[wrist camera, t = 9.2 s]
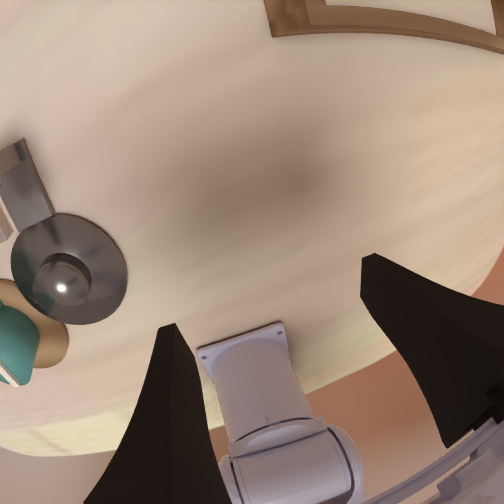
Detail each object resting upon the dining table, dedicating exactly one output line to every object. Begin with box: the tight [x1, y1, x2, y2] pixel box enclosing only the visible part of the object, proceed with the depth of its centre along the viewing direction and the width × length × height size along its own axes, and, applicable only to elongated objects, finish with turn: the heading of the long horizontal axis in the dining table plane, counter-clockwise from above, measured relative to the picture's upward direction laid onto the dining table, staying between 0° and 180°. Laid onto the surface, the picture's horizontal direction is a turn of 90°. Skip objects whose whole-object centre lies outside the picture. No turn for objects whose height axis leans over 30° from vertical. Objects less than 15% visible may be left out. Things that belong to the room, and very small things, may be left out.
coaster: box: [0, 279, 68, 368], centre depth 19 cm, size 10×10×1 cm
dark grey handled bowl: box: [0, 138, 127, 325], centre depth 14 cm, size 14×9×6 cm, turn 11°
